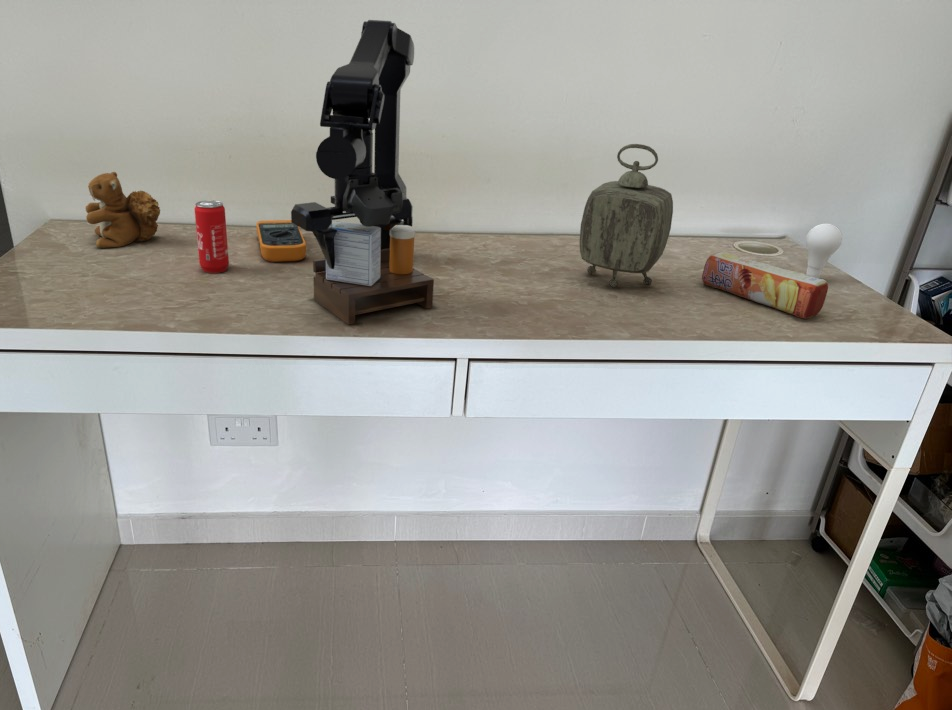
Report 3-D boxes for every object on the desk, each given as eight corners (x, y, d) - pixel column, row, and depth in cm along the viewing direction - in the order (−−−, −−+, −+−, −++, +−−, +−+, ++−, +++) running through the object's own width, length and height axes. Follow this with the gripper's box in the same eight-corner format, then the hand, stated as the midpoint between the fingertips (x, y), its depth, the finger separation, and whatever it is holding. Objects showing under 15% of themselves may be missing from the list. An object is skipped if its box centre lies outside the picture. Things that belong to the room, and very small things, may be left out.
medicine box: (381, 279, 125) (382, 226, 121) (370, 287, 121) (371, 233, 117) (336, 272, 127) (336, 220, 123) (325, 280, 124) (324, 227, 119)
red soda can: (222, 275, 138) (216, 208, 132) (195, 272, 139) (188, 205, 133) (233, 266, 143) (229, 201, 137) (207, 263, 143) (201, 198, 138)
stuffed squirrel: (92, 234, 156) (82, 167, 150) (165, 232, 159) (158, 167, 153) (87, 249, 148) (75, 179, 141) (163, 246, 151) (155, 178, 145)
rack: (394, 285, 137) (395, 247, 134) (432, 307, 129) (434, 267, 125) (313, 300, 129) (312, 260, 126) (348, 324, 121) (348, 282, 117)
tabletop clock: (659, 285, 144) (687, 146, 131) (647, 299, 136) (677, 154, 124) (583, 270, 149) (604, 135, 137) (569, 283, 142) (590, 143, 130)
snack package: (696, 285, 144) (704, 250, 141) (717, 279, 148) (725, 245, 145) (803, 323, 130) (815, 285, 126) (823, 316, 133) (835, 278, 130)
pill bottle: (404, 265, 132) (406, 223, 128) (418, 272, 129) (420, 230, 125) (383, 268, 130) (384, 226, 126) (397, 276, 127) (398, 233, 123)
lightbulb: (828, 277, 152) (846, 222, 146) (829, 287, 147) (847, 230, 141) (795, 272, 154) (811, 217, 148) (794, 281, 149) (811, 225, 144)
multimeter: (262, 264, 145) (261, 246, 143) (256, 236, 160) (255, 219, 158) (307, 262, 146) (307, 244, 145) (298, 234, 162) (297, 218, 160)
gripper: (323, 182, 105) (324, 290, 113) (435, 170, 114) (429, 271, 122) (287, 165, 113) (291, 267, 121) (394, 156, 122) (392, 251, 130)
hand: (353, 264), depth 123 cm, fingers closed on medicine box, 7 cm apart
